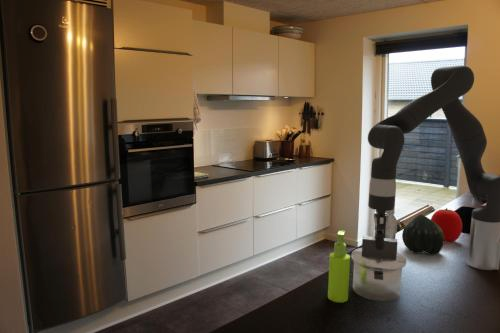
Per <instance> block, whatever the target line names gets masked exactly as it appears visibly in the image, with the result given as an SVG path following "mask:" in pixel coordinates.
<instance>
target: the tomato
mask: <svg viewBox="0 0 500 333" xmlns="http://www.w3.org/2000/svg"><path fill="white" fill-rule="evenodd" d="M430 220H432V221H433V222H434V223H436V224H437V225H438V226H439V227H440V228H441V229H442V231H443V234H444V243H454V242H455V241H457V240H458V239H459V238H460V237H461V234H462V231H463V221H462V218H461V217H460V215H459V214H458V213H457V212H456V211H454V210H452V209H448V207H446V208H444V209H437V210H436V211H435V212H434V213H433V214H432V216H431V218H430Z"/></svg>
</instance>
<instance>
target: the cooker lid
mask: <svg viewBox="0 0 500 333" xmlns="http://www.w3.org/2000/svg"><path fill="white" fill-rule="evenodd" d="M398 243H399V242H398V239H397V238H395V239H391V238H384V248H383V250H376V237H375V236H370V235H369V236H368V235H367V236H366V235H362V245H361V247H359V248H356V249H354V250H353V251H352V252H351V255H350V258H351V260H353V262H354V261H355V262H356V263H358V264H360V265H362V266H365V267H368V268H373V269H379V270H395V269H400V268H402V269H403V268H404V267H405V266H406V265H407V262H408V261H407V258H406V256H405V255H403V253H400V252H398Z"/></svg>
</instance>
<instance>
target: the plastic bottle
mask: <svg viewBox="0 0 500 333" xmlns="http://www.w3.org/2000/svg"><path fill="white" fill-rule="evenodd" d="M385 214H388V221H387V230H386V231H385V235H386V237H385V238H391V239H396V235H397V234H396V233H397V230H398V220H397V218H396V216H395V208H394V209H393V210H390V211H386V212H385Z"/></svg>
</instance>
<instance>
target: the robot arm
mask: <svg viewBox="0 0 500 333" xmlns="http://www.w3.org/2000/svg"><path fill="white" fill-rule="evenodd" d="M474 74H475V73H474V72H473V70H472V68H470V67H469V66H466V65H450V66H442V67H441V66H440V67H437V68H436V69H434V71H433V72H432V73H431V77H430V85H431V89H432V91H430V92H428V93H426V94H425V93H424V94H423V95H421V96H419V97H416V98H415V99H413V100H411V101H410V102H407V104H405V105H404V106H403V107H402V108H400V109H399V110H398V111H397V112H396V113H395V114H393V115H391V116H388V117H387V118H385V119H383V120H381V121H379V122H377V123H376V124H374V125H373V126H372V127H371V129H370V130H369V131H368V133H367V142H368V144H369V145H370V146H371V147H372V148H374V149H379V150H382V153H381V156H377V157H375V158H373V159H372V161H371V169H370V170H371V172H370V180H369V187H368V189H369V191H368V203H367V205H368V208H369V209H372V210H375V212H373V223H374V230H375V232H374V237H376V250H383V248H384V238H385V237H386V235H385V231H386V230H387V221H388V214H385V212H386V211H390V210H393V209H394V208H395V206H396V205H395V204H396V194H397V193H396V192H397V191H396V190H397V181H396V180H397V179H396V178H397V166H398V162H399V160H400V158H401V153H402V150H403V147H404V145H405V134H409V133H411V132H413V131H414V130H415V129H416V128H418V127H419V126H420V125H421V124H423V123H424V122H425V121H426V120H427V119H428V118H429V117H431V116H432V115H434V114H435V113H436V112H438V111H440V110H442V113H443V114H444V117H445V119H446V121H447V124H448V126H449V129H450V132H451V135H452V138H453V141H454V145H455V146H456V149H457V151H458V154H459V157H460V160H461V163H462V166H463V170H464V174H465V177H466V179H465V180H466V183H467V187H468V190H469V192H470V194H471V196H472V197H475V198H477V199H481V200H484V201H486V203H485V206H484V207H477V208H474V209H472V211H471V220H470V232H469V240H468V248H467V249H468V252H467V259H466V260H467V262H466V263H467V265H468V266H470V267H471V268H475V269H476V270H477V269H478V270H483V271H493V270H497V271H498V270H499V266H500V175H499V174H493V173H487V172H485V170H484V167H483V165H482V159H483V158H482V157H483V155H484V153H485V150H487V149H486V148H487V145H488V142H487V141H488V140H487V136H486V133H485V131H484V127H483V125H482V123H481V122H480V120H479V119H478V118H477V117H476V116H475V114H473V113H472V112H471V111H470V110H469V109H468V108H467V107H465V105H464V104H462V101H461V100H460V98H461V97H462V96H464V95H466V94H467V93H468V92H470V91H471V89H472V87H473V85H474V82H475V75H474Z"/></svg>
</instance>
